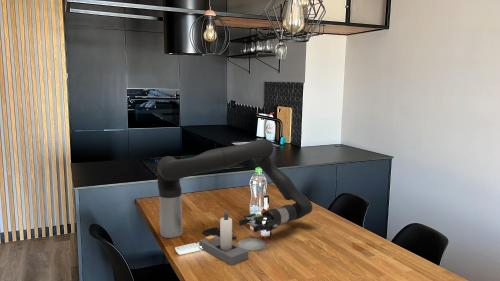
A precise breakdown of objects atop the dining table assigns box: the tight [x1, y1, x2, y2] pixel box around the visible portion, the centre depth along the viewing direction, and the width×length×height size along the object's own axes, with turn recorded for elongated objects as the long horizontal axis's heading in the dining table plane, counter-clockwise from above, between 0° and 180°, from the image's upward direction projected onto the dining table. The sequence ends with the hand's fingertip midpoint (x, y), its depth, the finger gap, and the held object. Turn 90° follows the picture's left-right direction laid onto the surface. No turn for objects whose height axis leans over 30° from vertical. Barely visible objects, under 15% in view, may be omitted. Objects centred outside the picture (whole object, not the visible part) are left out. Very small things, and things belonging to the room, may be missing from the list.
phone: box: [201, 226, 238, 242], centre depth 167 cm, size 8×1×15 cm
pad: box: [237, 237, 266, 252], centre depth 158 cm, size 11×11×1 cm
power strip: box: [198, 235, 249, 266], centre depth 151 cm, size 20×8×4 cm, turn 42°
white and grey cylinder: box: [219, 210, 233, 252], centre depth 148 cm, size 4×4×17 cm
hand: (246, 226), depth 155 cm, fingers open, 8 cm apart
